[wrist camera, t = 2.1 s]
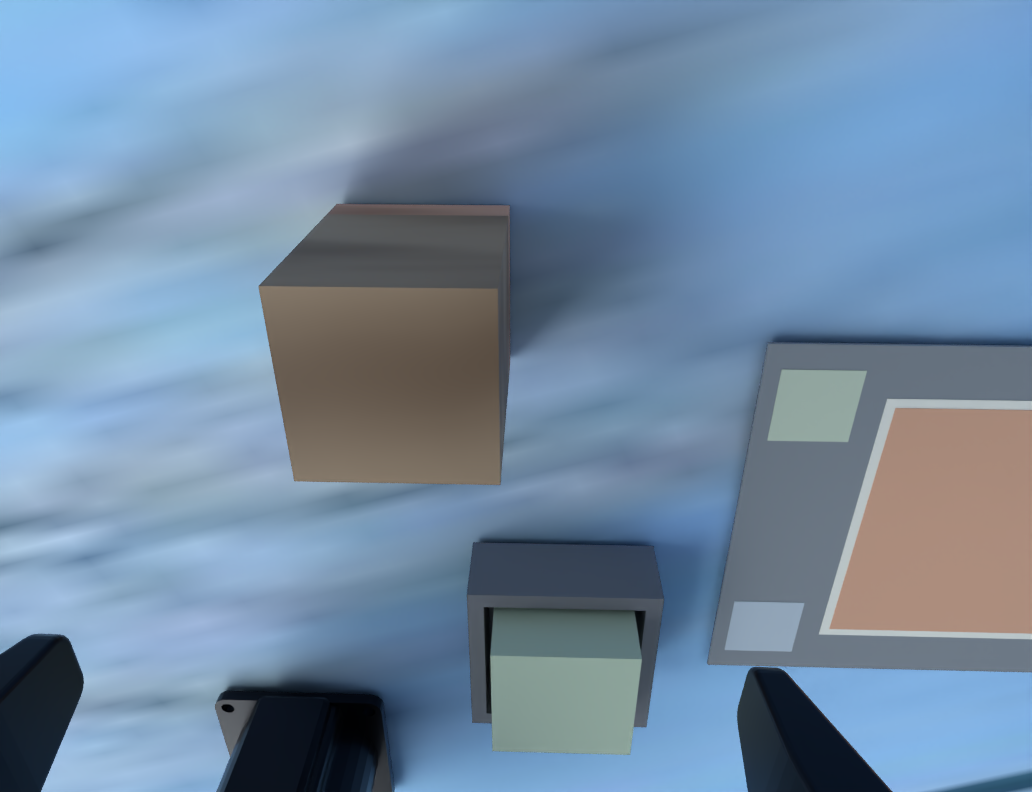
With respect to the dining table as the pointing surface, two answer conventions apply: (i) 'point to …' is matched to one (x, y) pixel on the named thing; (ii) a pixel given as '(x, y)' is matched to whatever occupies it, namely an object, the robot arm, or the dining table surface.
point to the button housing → (561, 599)
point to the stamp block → (394, 344)
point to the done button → (564, 680)
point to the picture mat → (884, 511)
